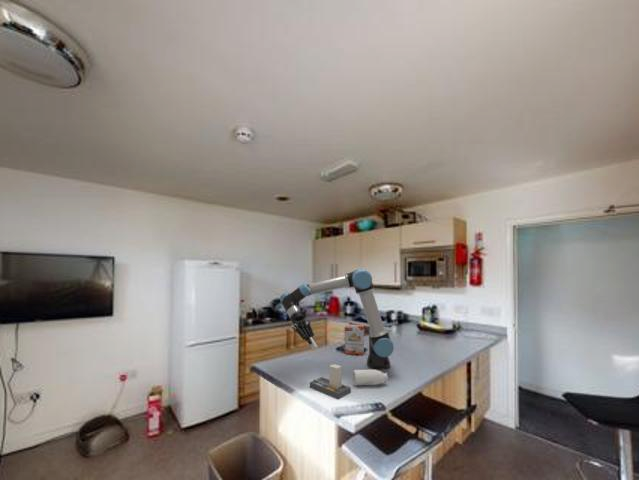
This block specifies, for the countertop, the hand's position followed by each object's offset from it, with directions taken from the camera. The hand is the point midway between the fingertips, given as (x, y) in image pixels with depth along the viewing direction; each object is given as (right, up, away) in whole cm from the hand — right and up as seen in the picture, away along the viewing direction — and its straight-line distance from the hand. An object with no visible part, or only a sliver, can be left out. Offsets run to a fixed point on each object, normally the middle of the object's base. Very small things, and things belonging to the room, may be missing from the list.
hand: (315, 348), depth 154 cm
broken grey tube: (+30, -19, -3) cm, 35 cm away
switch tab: (+11, -15, -12) cm, 22 cm away
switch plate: (+8, -18, -9) cm, 22 cm away
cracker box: (+29, -25, +52) cm, 65 cm away
